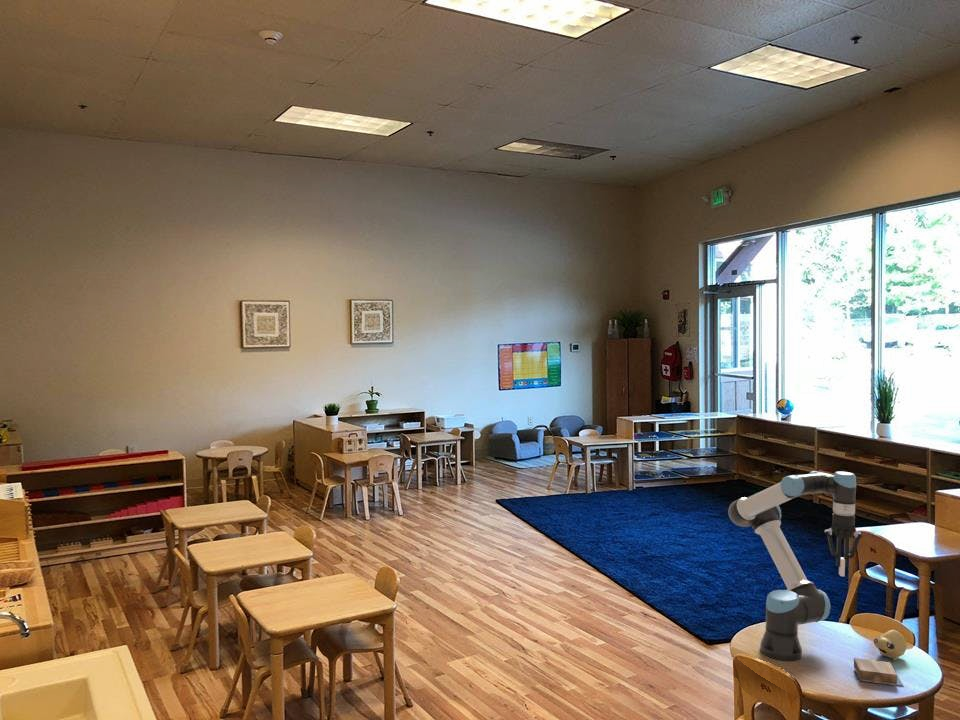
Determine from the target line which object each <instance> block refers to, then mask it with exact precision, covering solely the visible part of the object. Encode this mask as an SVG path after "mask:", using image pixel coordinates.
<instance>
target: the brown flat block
mask: <svg viewBox="0 0 960 720" xmlns="http://www.w3.org/2000/svg"><path fill="white" fill-rule="evenodd" d="M853 668H854V670H855V672H856V674H857V677H858V679H859V681H862V682H865V681H868V682H867V683H873V682H876V683H875V684H880V683H883V684H882V685H888V684H891V685H890V686H895V684H897V675H898V673H897V671H895V669H894V667H893V665H892V664H891V662H890V661H881V660H873V659H865V658H860V657H859V658H857V657H853Z"/></svg>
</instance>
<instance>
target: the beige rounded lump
mask: <svg viewBox="0 0 960 720" xmlns="http://www.w3.org/2000/svg"><path fill="white" fill-rule="evenodd" d="M873 645H874V646H875V648H877V650H878V651H879V654H880V656H884V657H886V658H890V659H892V660H893V661H897V660H898V658H900V657H901V656H904V654H905V653H906V651H907V641H906V639H905V638H904V636H903V634H901V633H900V632H899V631H897V630H895V629H889V630H888V631H886V632H883V634H881V635H880V636H879V637H874V640H873Z"/></svg>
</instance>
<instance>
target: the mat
mask: <svg viewBox="0 0 960 720" xmlns="http://www.w3.org/2000/svg"><path fill="white" fill-rule="evenodd" d="M864 682H867V683H869V682H868V681H864ZM872 683H875V684H877V683H876V682H872ZM879 684H880V685H881V684H882V685H884V684H883V683H879ZM887 685H890V686H892V685H891V684H887ZM894 686H897V687H904V684H903V682H902V681H901V678H899V675H898V674H897V684H895V685H894Z"/></svg>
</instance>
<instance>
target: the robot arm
mask: <svg viewBox="0 0 960 720" xmlns="http://www.w3.org/2000/svg"><path fill="white" fill-rule="evenodd" d="M856 492H857V476H856V475H855V473H853V472H848V471H835V472H834V474H830V473H828V472H827V473H826V472H824V471H817V470H812V471H810V472H809V473H807V474H790V475H786V476H784V477H782V479H781V481H780V482H778V483H775V484H774V485H772V486H769V487H768V488H765V489H763V490H761V491H759V492H756V493H754V494H752V495H749V496H747V497H745V496H744V497H741V498H738V499H736V500H734V501H732V503H730V505H729V507H728V517H729V519H730V520H731V522H732V523H733V524H735V525H736V526H738V527H743V528H744V527H745V528H748V527H749V528H750V527H752V530H753V531H754V533H755V534H757V535H759V536H760V537H761V539H762V541H763V544H764V545H765V547H766V549H767V551H768V553H769V554H770V557H771V559H772V561H773V563H774V564H775V566H776V569H777V571H778V572H779V574H780V577H781V579H782V580H783V583H784V584H785V587H786V588H787V589H776V590H772V591H771V592H769V593H768V594H767V596H766V603H765V631H764V633H763V636H762V638H761V641H760V646H759V649H760V652H761V653H762V652H763V655H765V656H767V657H769V658H771V659H775V660H778V661H779V660H780V661H786V662H787V661H788V662H791V661H792V662H793V661H798V660H800V659H801V658H802V656H803V650H802V646H801V642H800V639H799V635H798V634H799V630H798V629H799V625H804V624H805V625H806V624H809V623H818V622H821V621H824V620H827V618H828V617H829V615H830V613H831V612H830V610H831V602H830V598H829V596H828V595H827V593H826V592H825V591H823V590H821V589H817V587H816V586H815V585H816V584H815V583H814V582H812V581H810V580H808V579H807V577H806V575H805V573H804V571H803V569H802V567H801V565H800V563H799V561H798V559H797V558H796V555H795V554H794V551H793V550H792V548H791V546H790V544H789V542H788V541H787V538H786V537H785V535H784V533H783V531H782V529H781V524H782V521H781V519H782V509H781V508H780V505H782V504H784V503H786V502H788V501H790V500H792V499H795V498H797V497H800V496H804V495H812V494H813V495H815V494H822V493H823V494H827V495H829V496H830V495H831V496H832V497H833V498H832V500H833V501H832V512H833V513H832V522H831V525H830V528H828V529H824V534H825V535H826V538H827V541H828V546H829V550H830V554H831V556H832V557H834V558H835V559H836V560H835V565H836V567H838V575H839V577H846V576H845V574H846V568H848V567H849V560H850V559H854V557H855V554H856V551H857V548H858V544H859V542H860V540H861V538H862V537H863V534H862V533H861V532H860V531H858V530H857V529H856V527H855V526H856V525H855V523H856V522H855V521H856V515H855V514H856V494H857V493H856ZM833 534H834V536H835V537H836V550H835V546H834V541H833V537H832V535H833ZM853 535H854V536H853ZM852 536H853V541H852V544H851V547H850V538H852ZM842 541H844V542H843V557H842Z"/></svg>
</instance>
